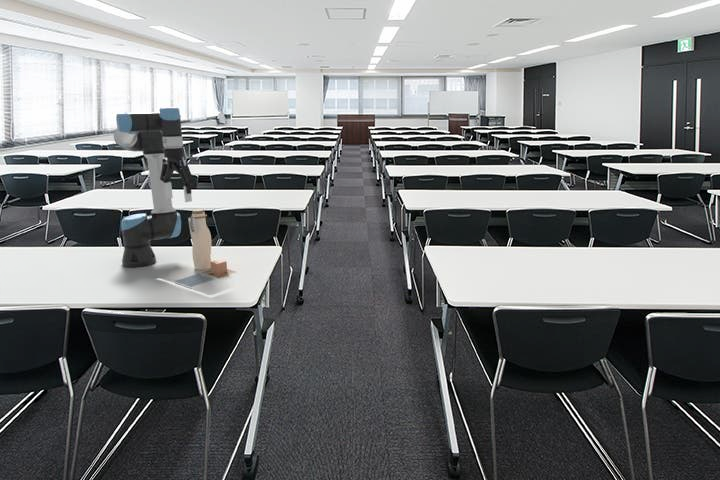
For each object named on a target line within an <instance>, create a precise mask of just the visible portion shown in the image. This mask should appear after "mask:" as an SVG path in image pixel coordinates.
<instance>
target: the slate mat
mask: <svg viewBox="0 0 720 480" xmlns="http://www.w3.org/2000/svg"><path fill="white" fill-rule="evenodd" d="M213 280H215V278H213V277H210V276H207V275H203V274H201V273H196V274H192V275H190V276H189V275H188V276H187V277H183V278H180V279H176V280H174V284H175V285H179V286H182V287H183V288H187V289H191V290H193V288H192V287H196V286H198V285H202V284H204V283H207V282H209V281H210V282H211V281H213Z"/></svg>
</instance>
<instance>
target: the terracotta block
mask: <svg viewBox="0 0 720 480" xmlns="http://www.w3.org/2000/svg"><path fill="white" fill-rule="evenodd" d="M210 265H211V268H210V270H211V273H214V274H218V275H219V274H222V273H225V272H227V269H228V266H227V265H228V263H227V260H223V259H220V258H218V259H216V260H211V262H210Z"/></svg>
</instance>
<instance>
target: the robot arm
mask: <svg viewBox="0 0 720 480" xmlns="http://www.w3.org/2000/svg"><path fill="white" fill-rule="evenodd" d="M180 113H181V112H180V108H179V107H177V106H176V107H173V106H172V107H170V106H169V107H167V106H165V107H160V108H159V111H155V112H150V111H149V112H148V111H147V112H119V113H117V114H116V116H115V117H116V118H115V119H116V127H117V128H116V129H115V131H114V133H113V139H114V141H115V143H116V145H117V146H118V147H120V148H121V149H123V150H125V151H129V152H142V154H143V156H144V157H145V158H146V159H147V160H146V161H147V167H148V173H149V182H150V188H151V198H152V204H153V205H152V206H153V209H152V210H151V211H150V216H149V215H147V213H143V212H141V213H136V214H132V215H128V216H125V217H124V218H122V220H121V222H120V225H121V233H122V239H123V247H124V248H123V255H122V259H121V263H122V266H123V267H126V268H139V267H142V268H143V267H146V266H149V265H153V264H154V263H156V262H157V258H156V254H155V252H154V250H153V248H152V245H151V241H156V240H162V239H171V238H176V237H178V236H179V235H180V233H181V231H182V220H181V219H182V218H181V214H180V213H179V212H177V209H176V208H174V206H173V201H172V198H174V196H173V188H172V180H171V178H172V176H173V174H174V172H175V173H178V175H179V177H180V179H181V181H182V183H183V186H182V187H183V195H184V203H189V202H192V201H193V197H192V185H195V181H194V178H193V175H192V172H191V170H190V167H189V164H188V160H187V159H184V160H182V159H183V158H184V157H185V153H184V151H185V149H184V147H183V146H184V142H183V134H182V133H183V132H182V131H183V130H182V120H181V116H182V115H181V114H180Z"/></svg>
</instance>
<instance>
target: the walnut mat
mask: <svg viewBox="0 0 720 480" xmlns="http://www.w3.org/2000/svg"><path fill="white" fill-rule="evenodd" d="M201 273H202V274H206V275H209V276H212V277H215V278H222V277H226V276H228V275H232V274H235V273H237V271H236V270H232V269H229V268H227V272H225V273H222V274H219V275H218V274H214V273H211V269H207V270H205V271H202V272H201Z"/></svg>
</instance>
